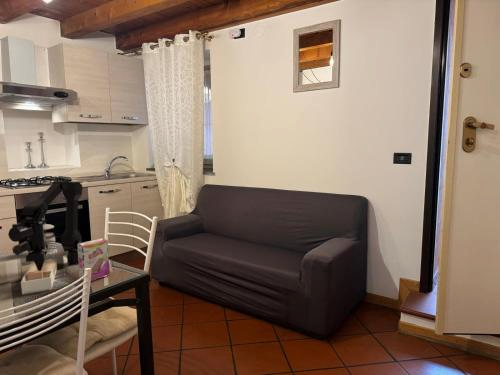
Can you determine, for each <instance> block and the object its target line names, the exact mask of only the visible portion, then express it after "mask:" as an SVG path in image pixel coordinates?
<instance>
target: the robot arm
mask: <svg viewBox="0 0 500 375" xmlns="http://www.w3.org/2000/svg"><path fill="white" fill-rule="evenodd" d="M61 193H62V196H63V197H64V199H65V201H66V203H65V206H66V207H65V210H66V212H65V215H66V216H65V217H66V218H65V231H64V233H62V234H61V235H60V244H61V247H62V248H63V251H64V252H67V253H66V261H67V264H68V266H72V265H73V266H74V265H79V261H78V248H77V244H80V243H84V242H85V241H83V240H82V234H81V233H80V231H79V229H78V228H79V224H78V222H79V199H80V198H81V196H82V195H83V194H82V193H83V184H82V183H81V182H80V181H65V180H55V181H53V182H52V184H51V185H50V186H49V187H48V188H46V190H45V191H44V192H43V193H42V194H41V195H40V196H39V197H38V198H37V199H35V200H33V201H30V202H29V203H27V204H25V205H24V206H23V208H22V209H21V213H20V215H19V217H18V219H17V222H16V223H13V224H12V225H11V228H10V229H9V231H8V237H9V239H10V240H11V241H12V242H15V243H18V242H21V241H23V240H26V241H23V242H21V243H19V244H16V245H14V246H13V247H12V248H11V250H12V253H13V254H14V255H15V256H19V255H20V254H23V253H25V252H27V254H26V255H25V262H27V263H29V262H35V265H36V267H37V269H38V271H41V269H42V266H43V263H44V261H46V257H47V255H46V254H47V251H45V252H44V251H43V250H45V248H46V249H48V247H50V246H48V245H49V244H48V242H46V241H45V239H44V238H45V235H44V233H45V230H44V229H43V225H44V223H46V222H48V221H47V219H44V216H45V215H46V214H47V212H48V207H49V206H50V205H51V203H53V202H54V200H55V199H56V198H57V197H59V195H61Z"/></svg>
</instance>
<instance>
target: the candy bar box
mask: <svg viewBox="0 0 500 375" xmlns="http://www.w3.org/2000/svg"><path fill="white" fill-rule="evenodd" d="M83 242H84V243H80V244H77V248H78V261H79V264H78V272H79V279H80V278H81V277H82V276H83V275H84V269H85V268H91V269H92V280H95V279H97V278H99V277H102V276H105V275H108V274H109V275H110V261H109V246H108V244H109V242H108V239H105V238H98V239H93V240H89V241H88V240H87V241H83ZM95 281H96V280H95Z"/></svg>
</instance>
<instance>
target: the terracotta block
mask: <svg viewBox="0 0 500 375" xmlns="http://www.w3.org/2000/svg"><path fill="white" fill-rule="evenodd" d="M27 275H28V281H30V280H36V279H42V278H43V270H42V271H34V272H29V273H28V274H27Z"/></svg>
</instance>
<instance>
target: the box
mask: <svg viewBox="0 0 500 375" xmlns="http://www.w3.org/2000/svg"><path fill="white" fill-rule="evenodd" d="M54 282H55V279H54V273H53V269H52V270H51V273H50V277H49V278H42V279H36V280H30V281H28V278H27V272H25V273H24V275H23V277H22V279H21V281H20V288H21V293H22V295H27V294H33V293H39V292H45V291H51V290H53V286H54Z"/></svg>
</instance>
